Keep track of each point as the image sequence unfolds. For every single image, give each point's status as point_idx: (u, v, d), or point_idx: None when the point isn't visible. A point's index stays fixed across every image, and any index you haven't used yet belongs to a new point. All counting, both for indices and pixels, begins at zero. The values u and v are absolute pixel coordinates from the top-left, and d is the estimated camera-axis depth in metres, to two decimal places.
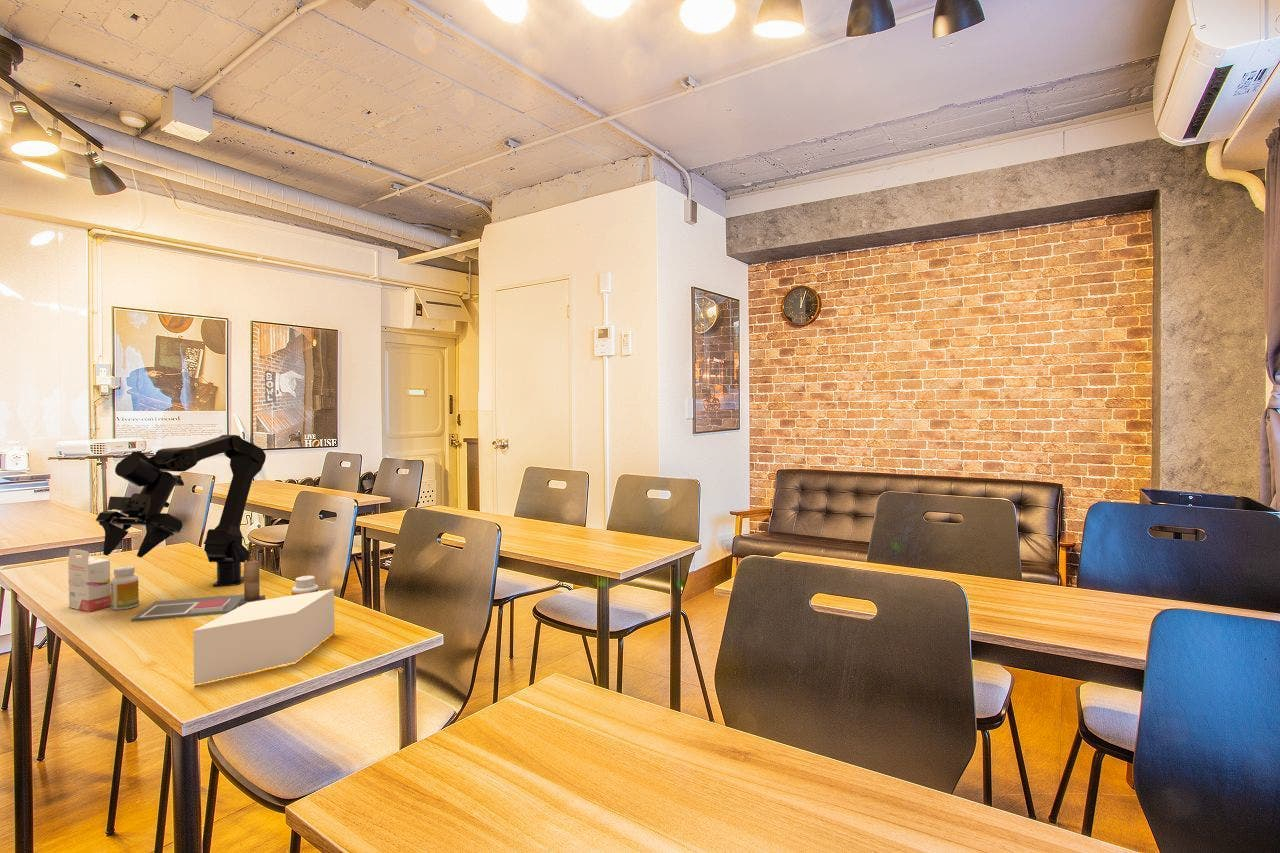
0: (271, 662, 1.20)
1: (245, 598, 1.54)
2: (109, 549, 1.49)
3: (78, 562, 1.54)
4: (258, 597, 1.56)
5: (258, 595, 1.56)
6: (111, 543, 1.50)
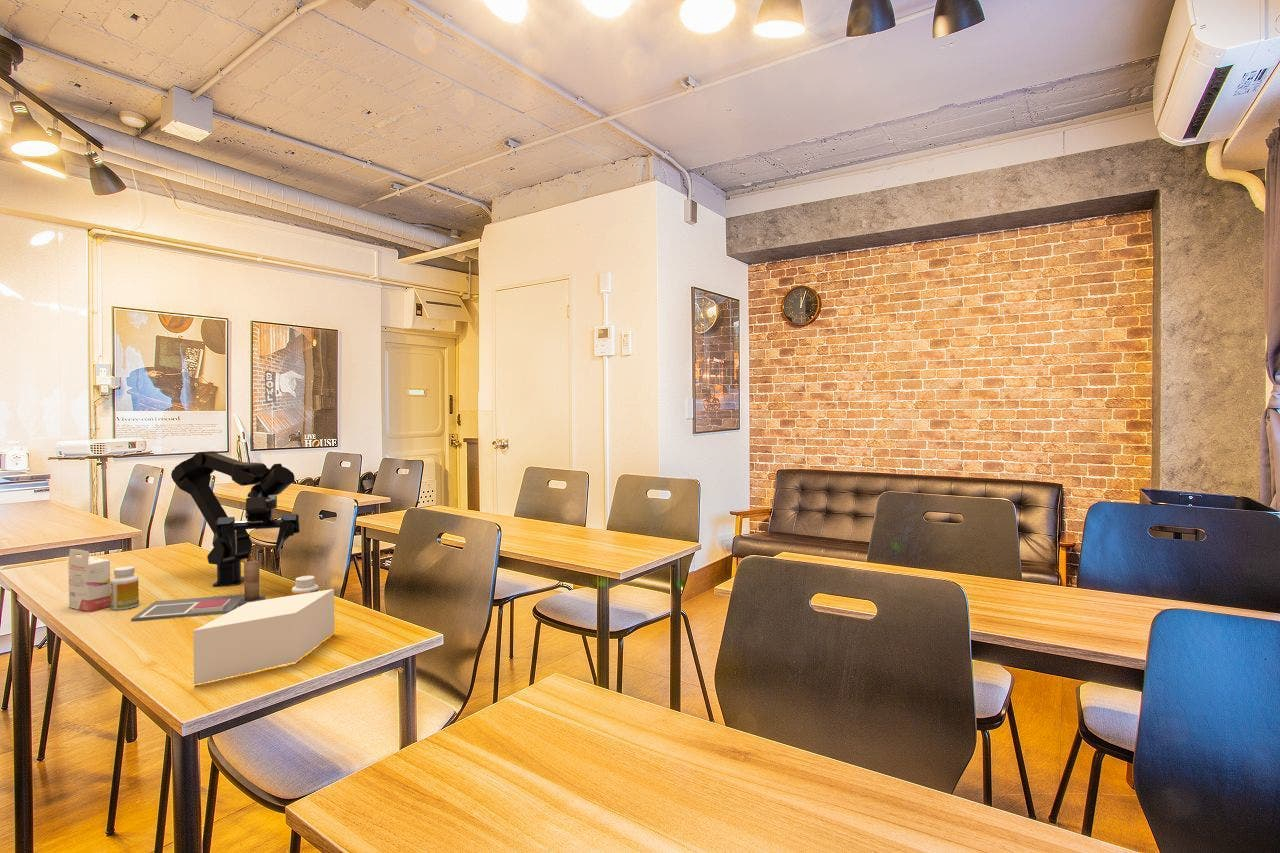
0: (271, 662, 1.20)
1: (245, 598, 1.54)
2: (235, 550, 1.61)
3: (78, 562, 1.54)
4: (258, 597, 1.56)
5: (258, 595, 1.56)
6: (236, 544, 1.61)
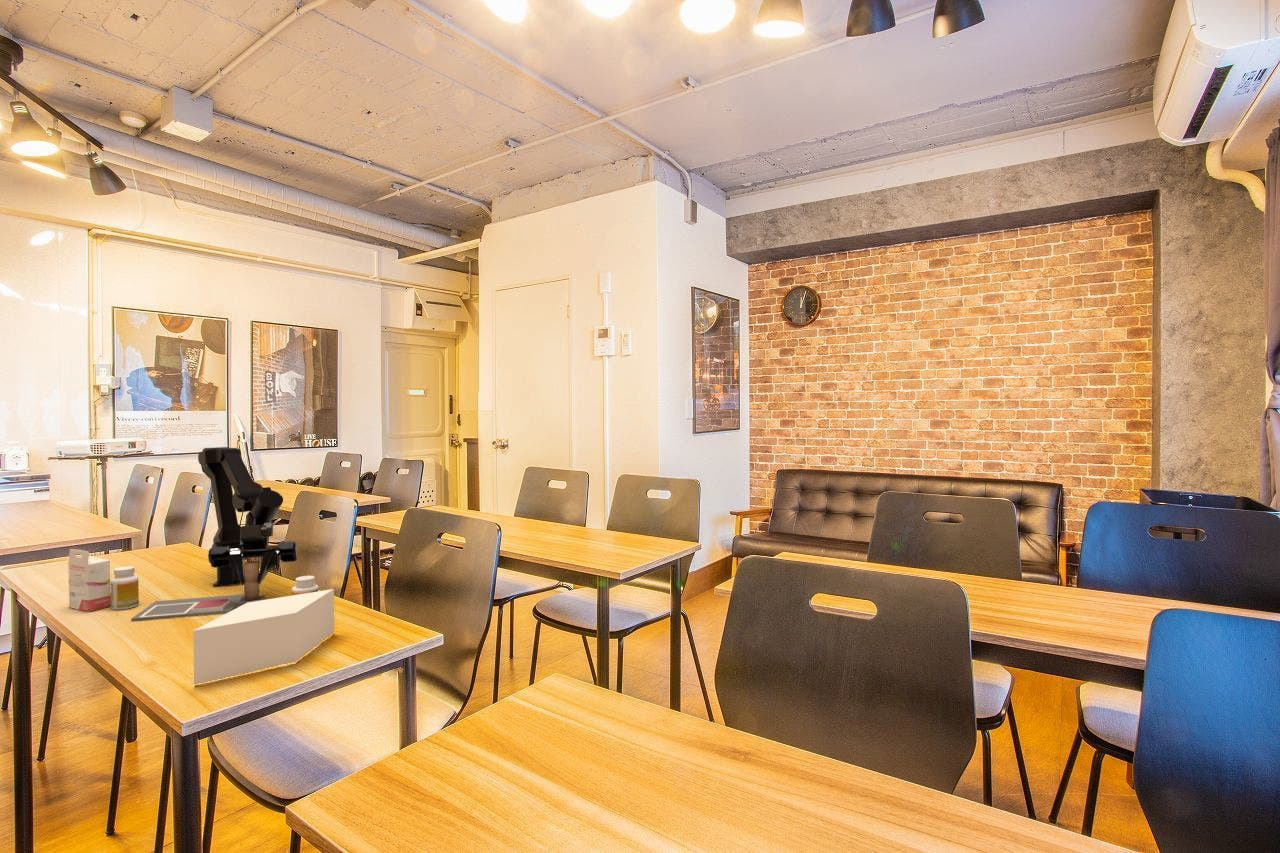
0: (271, 662, 1.20)
1: (245, 598, 1.54)
2: None
3: (78, 562, 1.54)
4: (258, 597, 1.56)
5: (258, 595, 1.56)
6: (243, 574, 1.55)
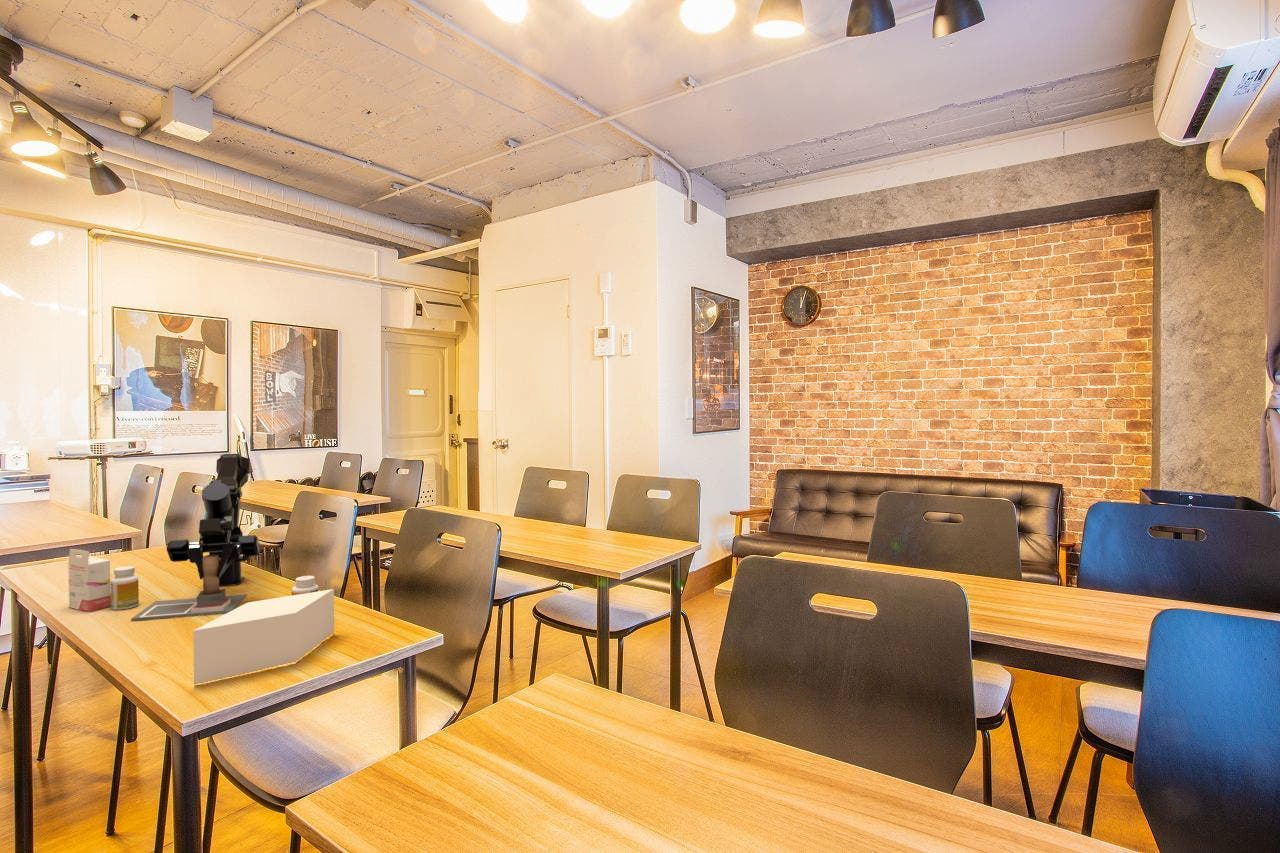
0: (271, 662, 1.20)
1: (204, 592, 1.53)
2: (202, 574, 1.53)
3: (78, 562, 1.54)
4: (217, 591, 1.54)
5: (217, 589, 1.54)
6: (202, 568, 1.54)
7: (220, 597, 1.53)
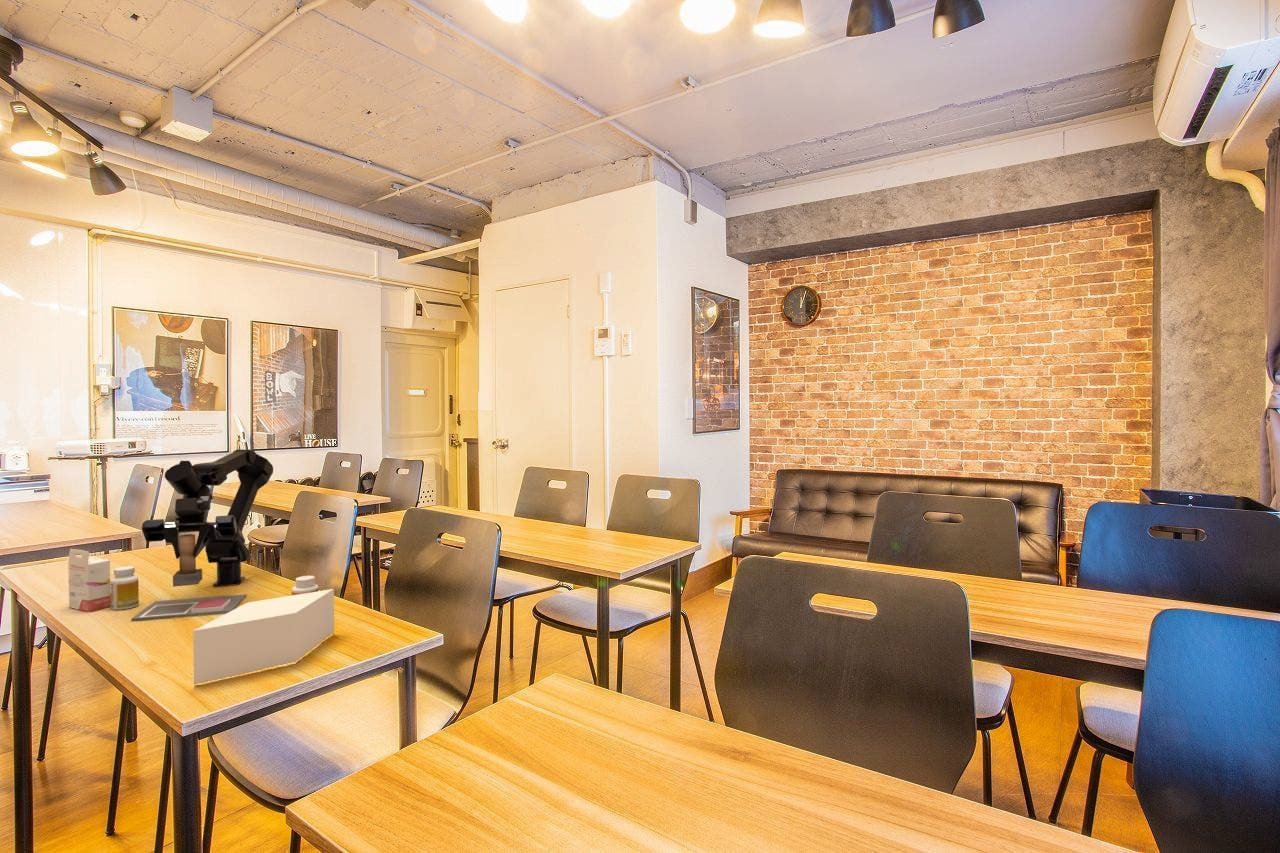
0: (271, 662, 1.20)
1: (180, 571, 1.52)
2: (178, 553, 1.52)
3: (78, 562, 1.54)
4: (194, 571, 1.54)
5: (194, 569, 1.54)
6: (178, 547, 1.53)
7: (197, 577, 1.52)
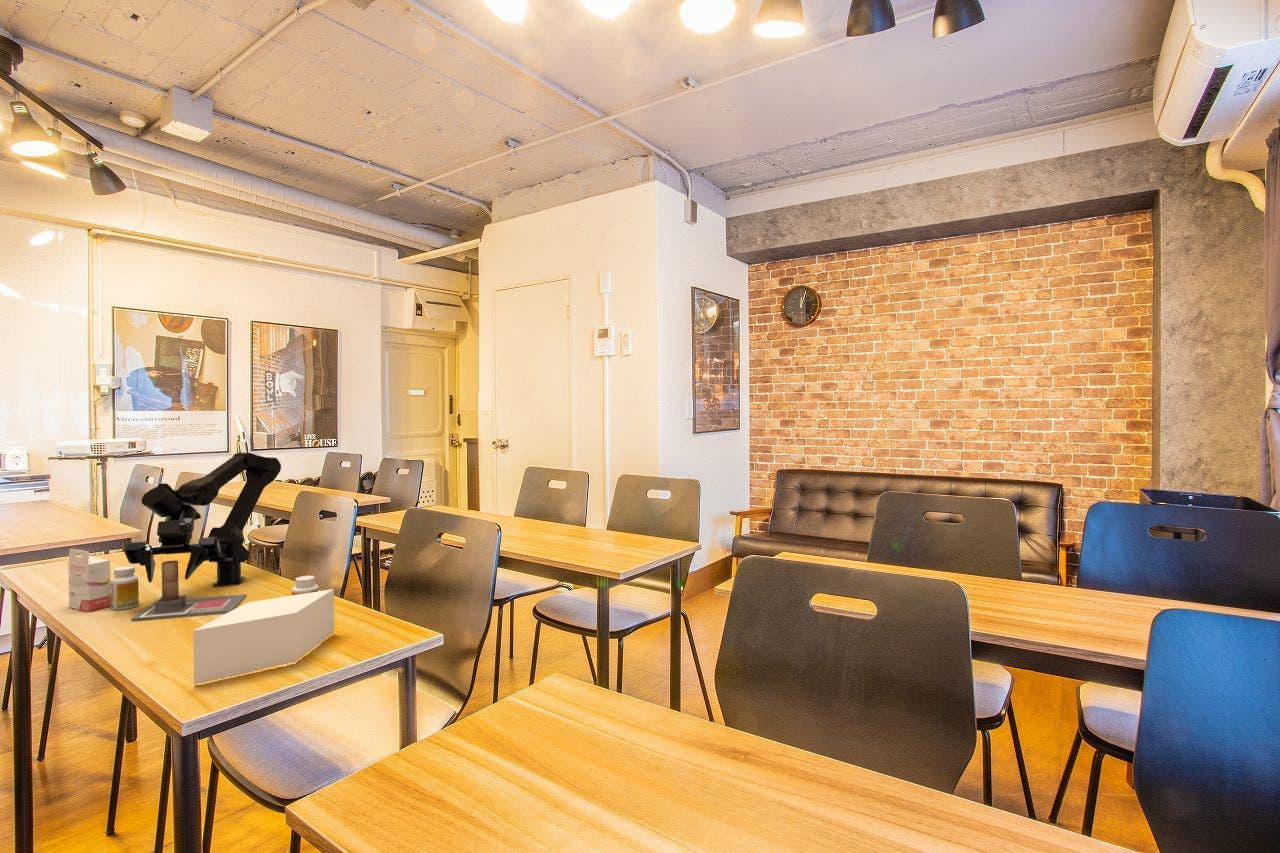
0: (271, 662, 1.20)
1: (163, 598, 1.52)
2: (151, 577, 1.51)
3: (78, 562, 1.54)
4: (177, 597, 1.53)
5: (177, 595, 1.53)
6: (152, 571, 1.52)
7: (179, 603, 1.52)
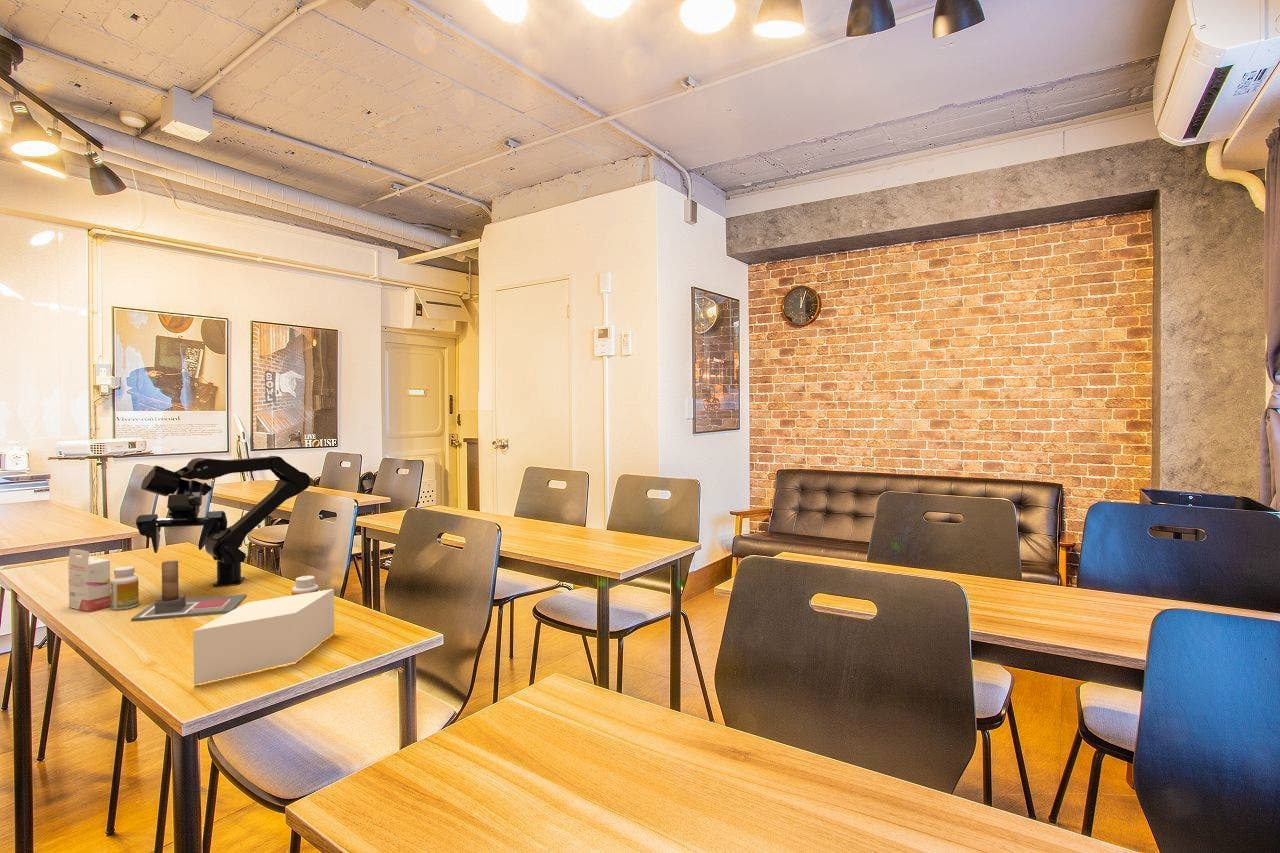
0: (271, 662, 1.20)
1: (163, 598, 1.52)
2: (156, 548, 1.58)
3: (78, 562, 1.54)
4: (177, 597, 1.53)
5: (177, 595, 1.53)
6: (157, 542, 1.59)
7: (179, 603, 1.52)
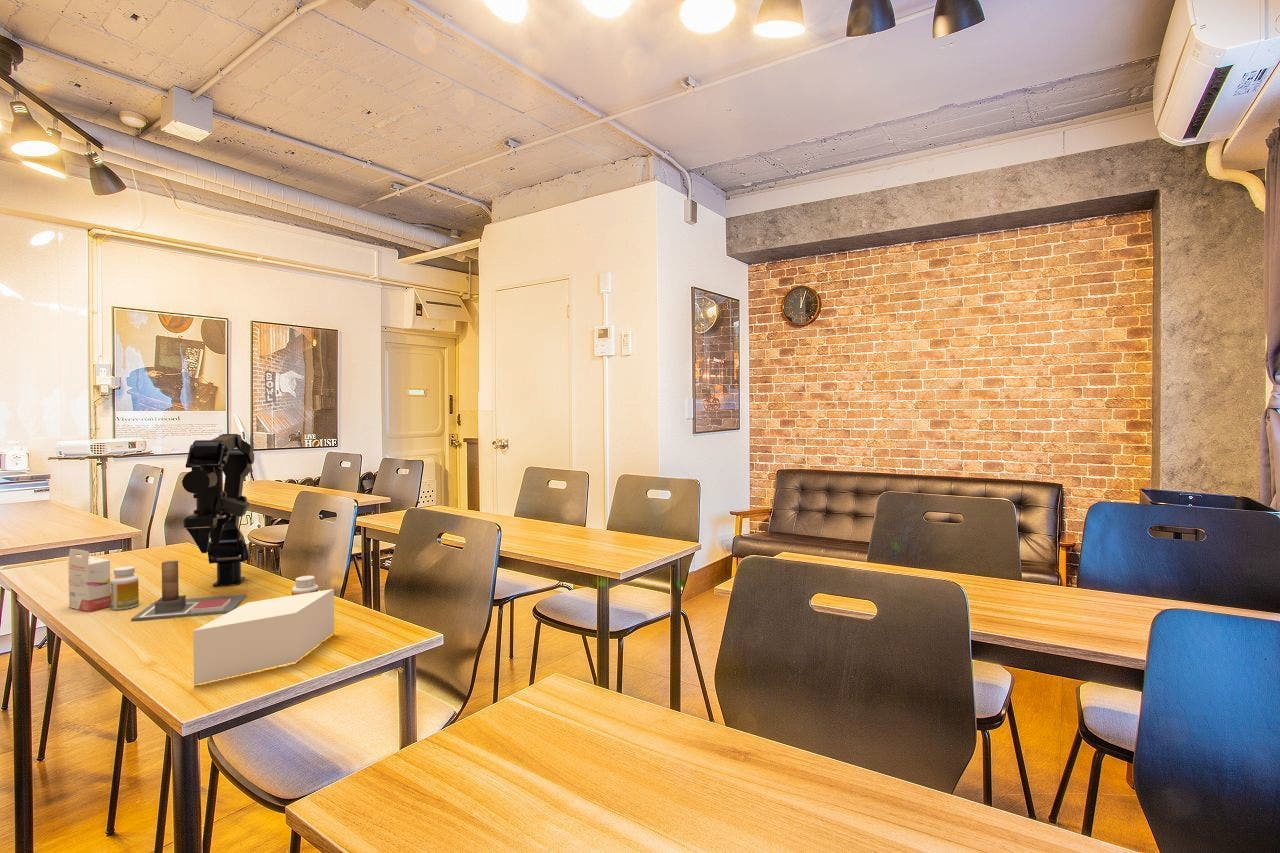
0: (271, 662, 1.20)
1: (163, 598, 1.52)
2: None
3: (78, 562, 1.54)
4: (177, 597, 1.53)
5: (177, 595, 1.53)
6: None
7: (179, 603, 1.52)
